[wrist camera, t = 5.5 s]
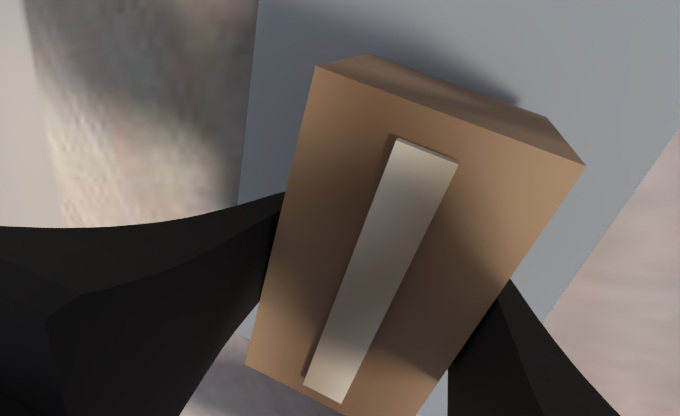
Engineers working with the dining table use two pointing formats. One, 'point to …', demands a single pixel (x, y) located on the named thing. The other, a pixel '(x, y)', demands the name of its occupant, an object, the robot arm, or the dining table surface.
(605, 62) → the rubber mat
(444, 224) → the taped cardboard box
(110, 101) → the dining table surface
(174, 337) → the robot arm
